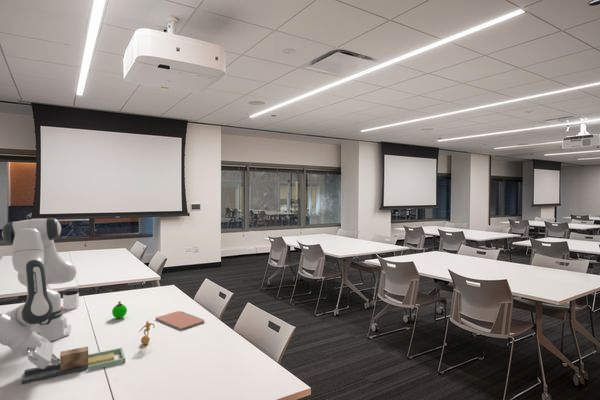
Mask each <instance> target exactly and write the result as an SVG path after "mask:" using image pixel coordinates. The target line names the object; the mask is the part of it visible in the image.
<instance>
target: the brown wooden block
mask: <svg viewBox="0 0 600 400" xmlns="http://www.w3.org/2000/svg"><path fill="white" fill-rule="evenodd" d="M88 354H89V346H83V347H78V348H73V349H67V350H63V351H60V354H59V359H60V371H61V370H66V369H70V368H75V367H80V366H84V365H87V368H88Z"/></svg>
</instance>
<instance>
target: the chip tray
mask: <svg viewBox="0 0 600 400" xmlns="http://www.w3.org/2000/svg"><path fill="white" fill-rule="evenodd" d="M110 353H114V355H115V354H119V353H120V356H121V358H118V359H115V360H112V361H107V362H103V363H98V364H93V365H89V366H88V367H87V371H93V370H98V369H102V368H103V369H104V368H108V367H112V366H116V365H120V364H124V363H126V356H125V354H124V351H123V347H119V348H113V349H109V350H103V351H98V352H94V353H88V358H91V357H96V356H100V355H105V354H110Z"/></svg>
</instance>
